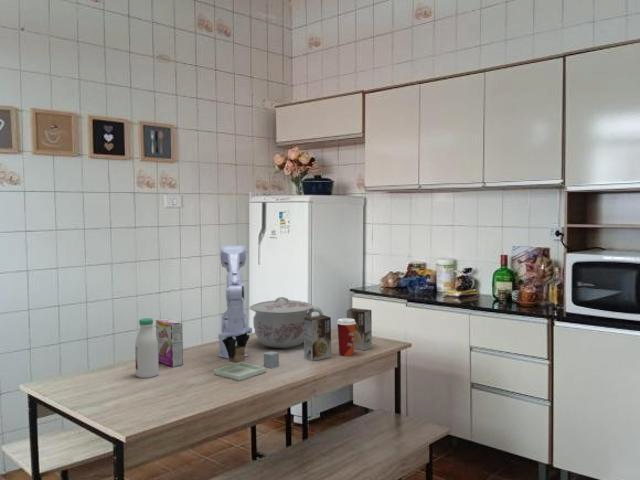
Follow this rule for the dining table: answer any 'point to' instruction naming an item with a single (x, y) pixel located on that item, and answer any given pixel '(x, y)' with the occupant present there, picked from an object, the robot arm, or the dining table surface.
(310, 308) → the chamber pot
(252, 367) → the tray
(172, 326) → the candy bar box
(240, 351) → the walnut block
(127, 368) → the dining table surface
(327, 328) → the coffee box
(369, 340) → the coffee box
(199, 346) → the dining table surface
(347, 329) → the paper cup
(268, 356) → the grey block
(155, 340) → the milk bottle
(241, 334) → the robot arm
